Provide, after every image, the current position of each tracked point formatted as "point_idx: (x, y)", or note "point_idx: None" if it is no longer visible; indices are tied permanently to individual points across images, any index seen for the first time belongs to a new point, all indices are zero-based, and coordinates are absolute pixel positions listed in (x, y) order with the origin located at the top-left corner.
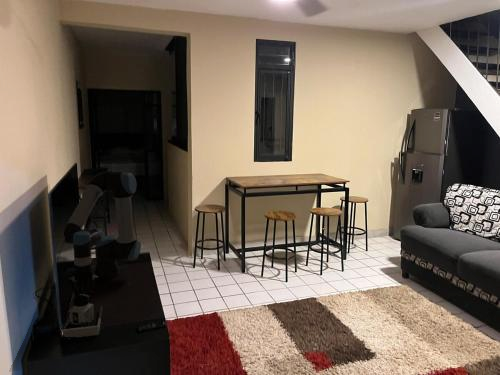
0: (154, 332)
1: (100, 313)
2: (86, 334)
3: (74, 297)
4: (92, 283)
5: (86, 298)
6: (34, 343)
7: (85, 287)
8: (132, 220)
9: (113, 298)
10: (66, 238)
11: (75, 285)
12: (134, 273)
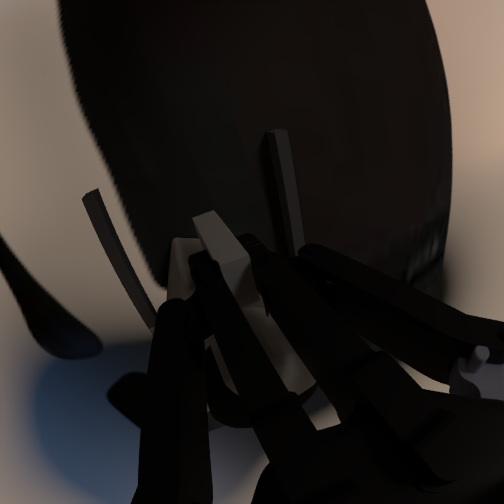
0: (428, 280)
1: (296, 221)
2: None
3: (220, 418)
4: (414, 367)
5: (313, 392)
6: (122, 412)
7: (319, 381)
8: None
9: (302, 10)
10: None
11: (198, 446)
12: None
